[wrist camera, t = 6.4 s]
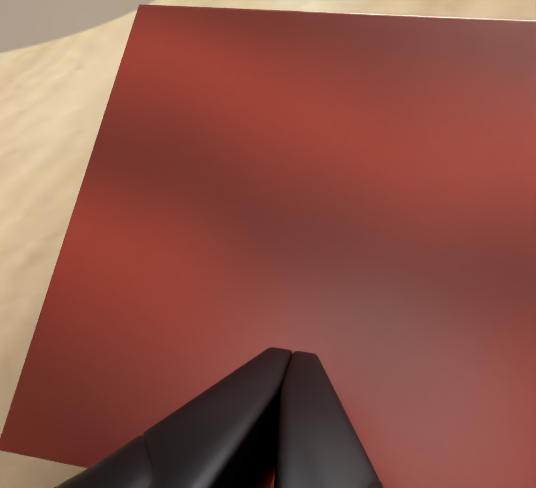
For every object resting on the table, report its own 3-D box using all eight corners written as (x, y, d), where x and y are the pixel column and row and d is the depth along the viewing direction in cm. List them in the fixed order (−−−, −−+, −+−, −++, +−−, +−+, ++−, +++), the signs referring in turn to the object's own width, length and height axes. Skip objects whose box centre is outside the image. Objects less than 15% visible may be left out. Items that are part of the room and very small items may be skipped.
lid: (147, 22, 17) (138, 3, 16) (587, 43, 15) (601, 22, 14) (15, 448, 12) (-5, 449, 12) (617, 570, 10) (639, 580, 9)
